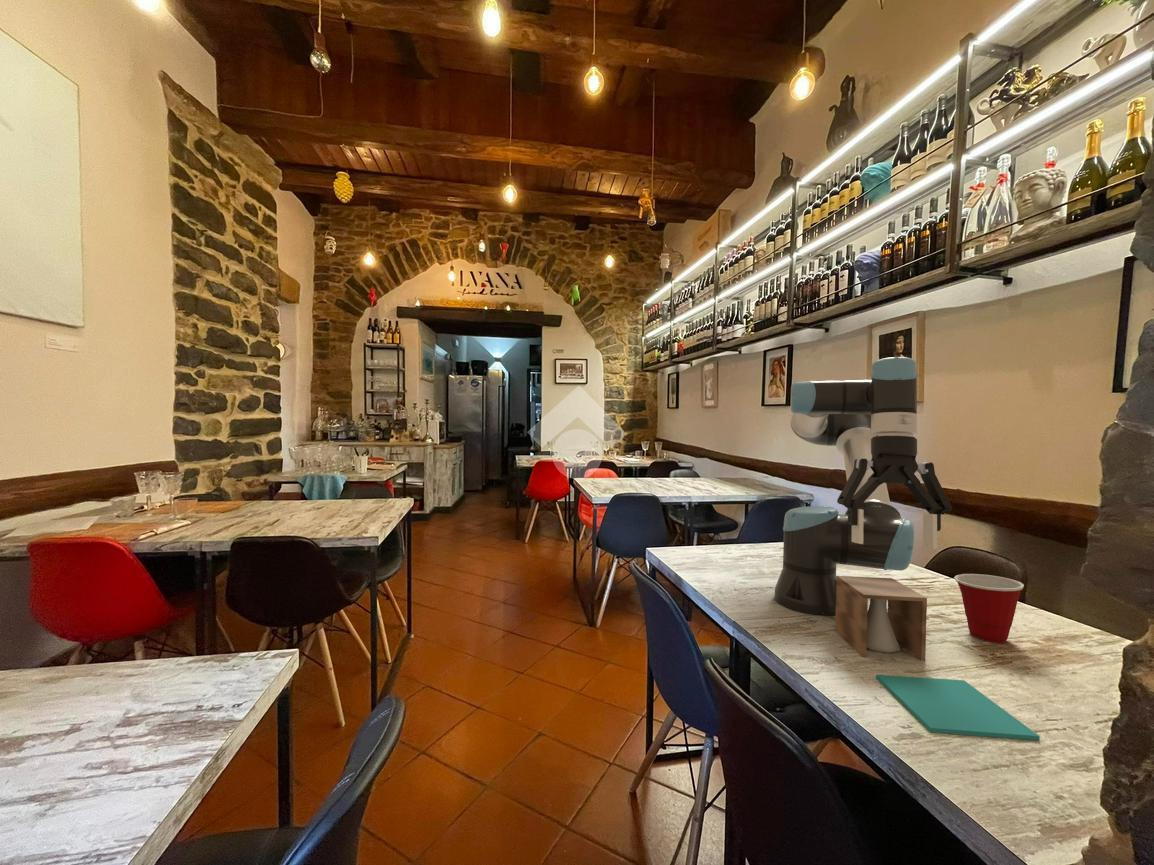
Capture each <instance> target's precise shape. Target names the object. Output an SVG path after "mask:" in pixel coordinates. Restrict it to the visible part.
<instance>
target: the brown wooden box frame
mask: <svg viewBox="0 0 1154 865" xmlns="http://www.w3.org/2000/svg"><path fill="white" fill-rule="evenodd" d="M836 576H837V578H836V614H835V619H834V620H835V628H834V629H835V630H834V631H835V632H836V633H837V635H839V636H840V637H841V638H842V639H843V640H844V641H845V642H846V643H847V644H848V645H849V646H850V647H851V648H852V649H853V650H854V651H855V652H857V653H858V655H859V656H861V657H862V658H867V650H868V648H867V613H868V609H869V606H868V603H869V601H868V600H870V599H884V600H887V612H888V617H889V620H890V623H891V626H892V629H893V632H894V634H895V637H896V640H897V642H898V645H900V646H902V647H903V648H905V650H907V651H908V652H910V653H911V654H912V655H913V656H915V657H916V658H917V659H918V660H920V661H922V662H926V653H927V652H926V651H927V650H926V648H927V647H926V646H927V613H928V612H927V610H928V597H927V596H924V595H923V594H921V593H920V592H917V591H915V590H914V589H912V588H910V587H908V586H907V585H905V584H903V583H901V582H900V581H898V580H896V579H894V578H893V577H873V576H871V577H869V576H852V575H851V576H850V575H847V576H846V575H836Z"/></svg>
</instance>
